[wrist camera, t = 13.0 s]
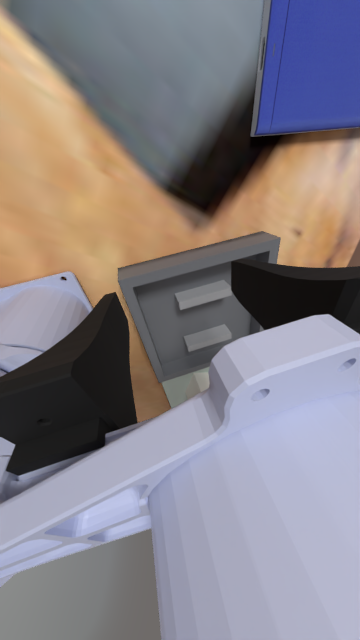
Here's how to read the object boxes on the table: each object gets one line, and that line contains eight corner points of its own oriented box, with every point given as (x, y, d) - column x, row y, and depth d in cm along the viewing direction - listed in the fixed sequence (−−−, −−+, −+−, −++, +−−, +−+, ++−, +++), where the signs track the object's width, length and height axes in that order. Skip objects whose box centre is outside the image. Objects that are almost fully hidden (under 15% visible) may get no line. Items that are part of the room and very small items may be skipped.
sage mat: (171, 408, 37) (172, 411, 37) (157, 370, 30) (158, 373, 29) (229, 388, 38) (230, 391, 38) (229, 348, 31) (230, 350, 31)
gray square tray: (155, 366, 29) (159, 383, 27) (117, 268, 19) (117, 280, 17) (252, 336, 31) (263, 349, 28) (262, 231, 21) (280, 237, 19)
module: (185, 391, 34) (193, 419, 30) (193, 372, 31) (204, 400, 28) (205, 390, 35) (216, 416, 32) (214, 372, 33) (227, 398, 29)
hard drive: (456, -59, 12) (281, -76, 10) (383, 124, 17) (257, 135, 15) (425, -37, 13) (264, -49, 11) (366, 128, 18) (246, 138, 16)
